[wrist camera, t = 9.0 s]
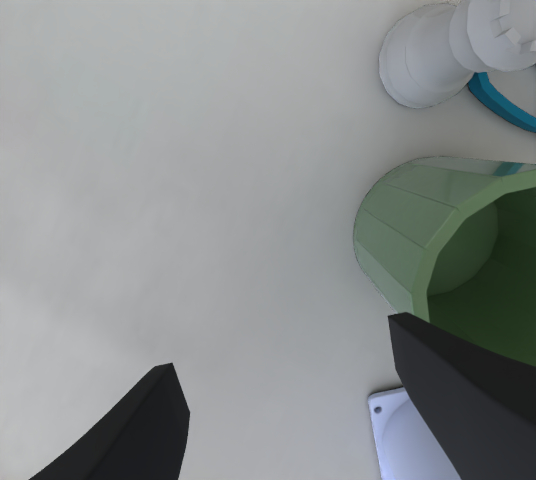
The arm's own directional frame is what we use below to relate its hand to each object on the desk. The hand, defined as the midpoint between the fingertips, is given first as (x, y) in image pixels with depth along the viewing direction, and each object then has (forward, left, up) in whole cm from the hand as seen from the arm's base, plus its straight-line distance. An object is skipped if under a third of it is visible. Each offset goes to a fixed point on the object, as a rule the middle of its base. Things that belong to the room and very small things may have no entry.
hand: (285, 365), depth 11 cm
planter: (0, -9, -9) cm, 13 cm away
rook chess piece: (+9, -10, -10) cm, 16 cm away
